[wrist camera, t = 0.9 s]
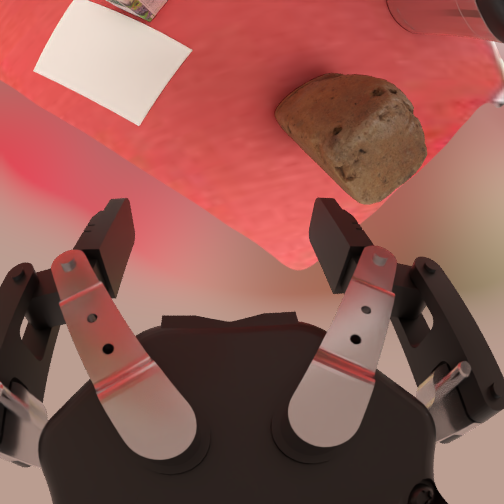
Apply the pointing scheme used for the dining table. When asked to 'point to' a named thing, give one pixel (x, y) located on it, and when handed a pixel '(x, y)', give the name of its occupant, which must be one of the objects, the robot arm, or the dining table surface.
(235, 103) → the dining table surface
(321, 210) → the robot arm
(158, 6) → the syrup box
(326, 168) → the block
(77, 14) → the mat
